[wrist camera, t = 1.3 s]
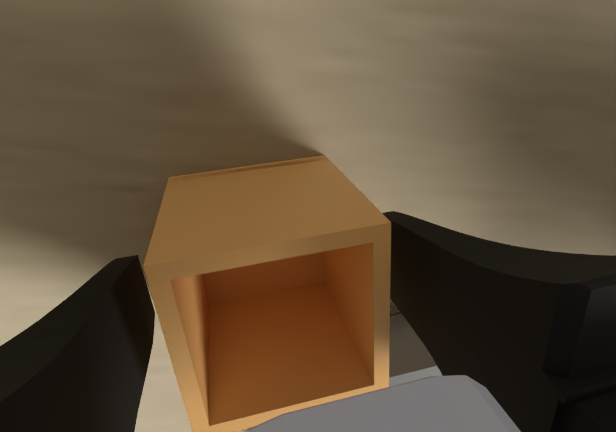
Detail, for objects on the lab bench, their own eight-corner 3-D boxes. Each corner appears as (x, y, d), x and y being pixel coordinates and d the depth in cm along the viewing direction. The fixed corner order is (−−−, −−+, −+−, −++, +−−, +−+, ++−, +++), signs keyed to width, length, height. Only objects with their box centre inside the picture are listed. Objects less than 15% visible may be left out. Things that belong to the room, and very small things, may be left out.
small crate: (323, 154, 13) (391, 222, 8) (330, 279, 15) (388, 392, 10) (169, 175, 12) (143, 266, 7) (199, 305, 14) (195, 441, 10)
